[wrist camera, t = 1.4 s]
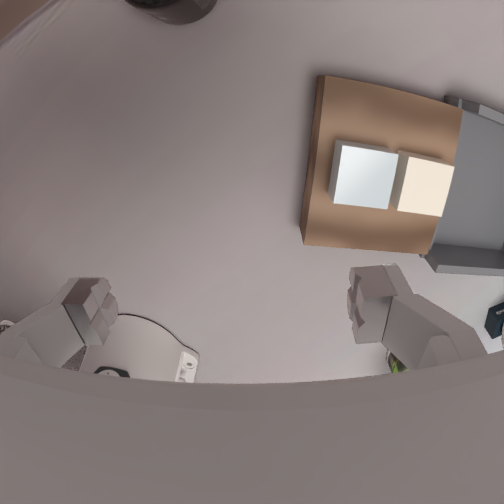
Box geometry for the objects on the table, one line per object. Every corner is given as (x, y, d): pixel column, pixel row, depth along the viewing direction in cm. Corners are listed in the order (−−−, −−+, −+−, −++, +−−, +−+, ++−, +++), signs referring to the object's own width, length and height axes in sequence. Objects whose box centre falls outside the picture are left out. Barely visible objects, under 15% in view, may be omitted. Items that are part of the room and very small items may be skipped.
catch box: (499, 253, 35) (521, 277, 30) (411, 244, 35) (431, 272, 30) (533, 132, 26) (564, 145, 21) (444, 95, 26) (476, 102, 21)
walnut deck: (413, 237, 34) (427, 254, 31) (299, 226, 34) (303, 244, 31) (443, 104, 26) (463, 109, 23) (317, 76, 26) (325, 75, 23)
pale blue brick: (378, 198, 28) (387, 209, 26) (327, 193, 28) (333, 203, 26) (388, 148, 26) (398, 154, 24) (335, 139, 26) (342, 145, 23)
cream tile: (430, 206, 28) (441, 216, 26) (387, 200, 28) (397, 210, 26) (441, 159, 26) (454, 166, 24) (398, 149, 26) (409, 156, 24)
